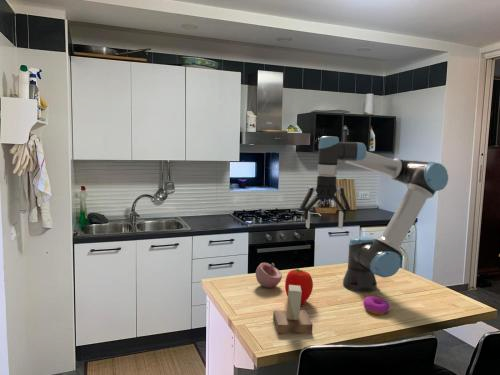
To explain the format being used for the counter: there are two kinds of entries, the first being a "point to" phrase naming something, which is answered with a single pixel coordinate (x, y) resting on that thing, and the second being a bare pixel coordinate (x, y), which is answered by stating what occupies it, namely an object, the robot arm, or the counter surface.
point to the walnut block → (292, 323)
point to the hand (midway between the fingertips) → (324, 227)
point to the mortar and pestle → (268, 275)
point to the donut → (376, 305)
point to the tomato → (300, 282)
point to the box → (293, 302)
